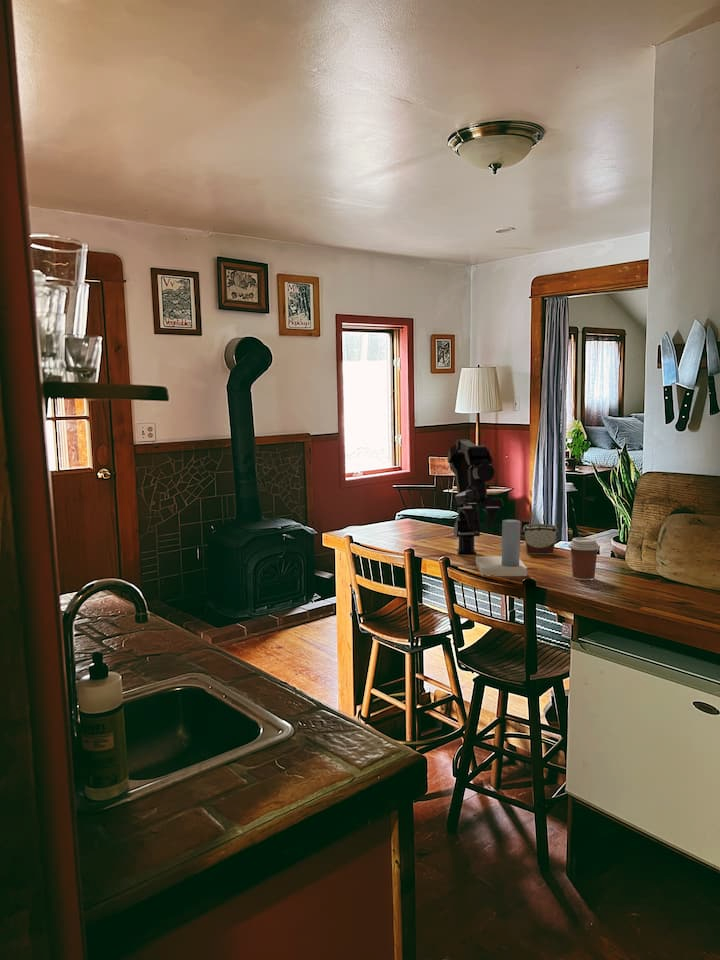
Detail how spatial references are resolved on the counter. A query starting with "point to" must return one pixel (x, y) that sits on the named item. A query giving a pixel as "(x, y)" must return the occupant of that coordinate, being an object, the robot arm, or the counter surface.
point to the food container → (540, 538)
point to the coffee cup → (583, 558)
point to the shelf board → (498, 567)
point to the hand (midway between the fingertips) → (479, 528)
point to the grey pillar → (510, 543)
